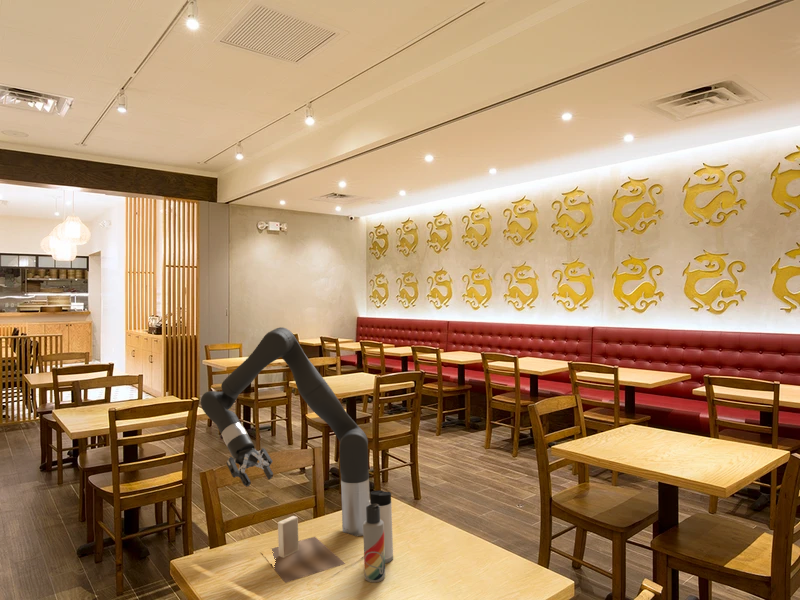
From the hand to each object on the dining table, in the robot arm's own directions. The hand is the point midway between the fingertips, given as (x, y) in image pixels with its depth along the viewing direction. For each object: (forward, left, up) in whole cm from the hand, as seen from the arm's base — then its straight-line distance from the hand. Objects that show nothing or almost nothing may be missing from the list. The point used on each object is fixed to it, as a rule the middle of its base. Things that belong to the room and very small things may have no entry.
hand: (260, 481), depth 170 cm
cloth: (-6, +18, -20) cm, 27 cm away
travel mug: (-26, +31, -20) cm, 45 cm away
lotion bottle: (-19, +39, -20) cm, 48 cm away
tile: (-4, +13, -19) cm, 23 cm away
